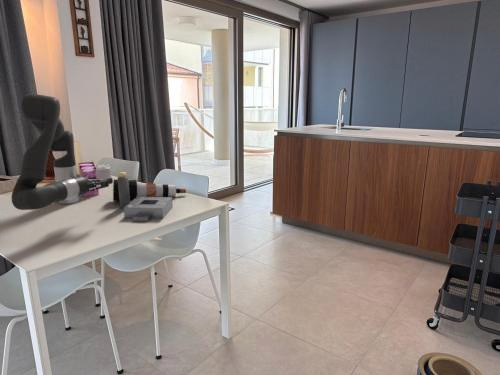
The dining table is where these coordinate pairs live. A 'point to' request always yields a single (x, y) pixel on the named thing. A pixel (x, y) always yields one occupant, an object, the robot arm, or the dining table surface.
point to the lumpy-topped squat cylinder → (103, 171)
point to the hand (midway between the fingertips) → (103, 179)
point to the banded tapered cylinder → (147, 190)
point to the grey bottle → (123, 190)
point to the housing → (148, 208)
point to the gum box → (88, 175)
